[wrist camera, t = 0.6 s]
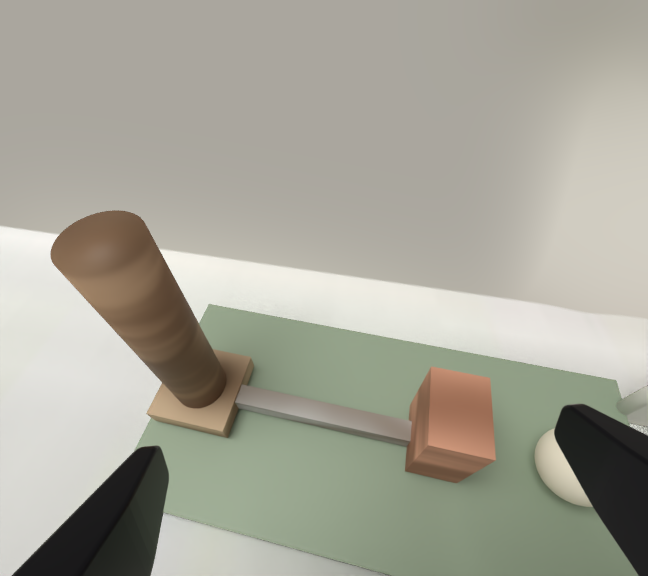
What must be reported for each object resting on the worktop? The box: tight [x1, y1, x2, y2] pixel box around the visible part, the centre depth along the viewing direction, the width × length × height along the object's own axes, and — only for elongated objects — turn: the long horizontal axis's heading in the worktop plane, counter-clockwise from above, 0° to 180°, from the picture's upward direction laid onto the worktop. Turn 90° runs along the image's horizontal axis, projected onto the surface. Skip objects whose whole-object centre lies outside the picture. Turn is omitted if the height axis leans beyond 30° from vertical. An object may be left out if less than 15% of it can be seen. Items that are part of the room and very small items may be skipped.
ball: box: [534, 428, 593, 507], centre depth 20 cm, size 4×4×4 cm
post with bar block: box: [51, 211, 496, 483], centre depth 17 cm, size 5×20×14 cm, turn 78°
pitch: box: [135, 304, 648, 576], centre depth 20 cm, size 14×39×8 cm, turn 78°
